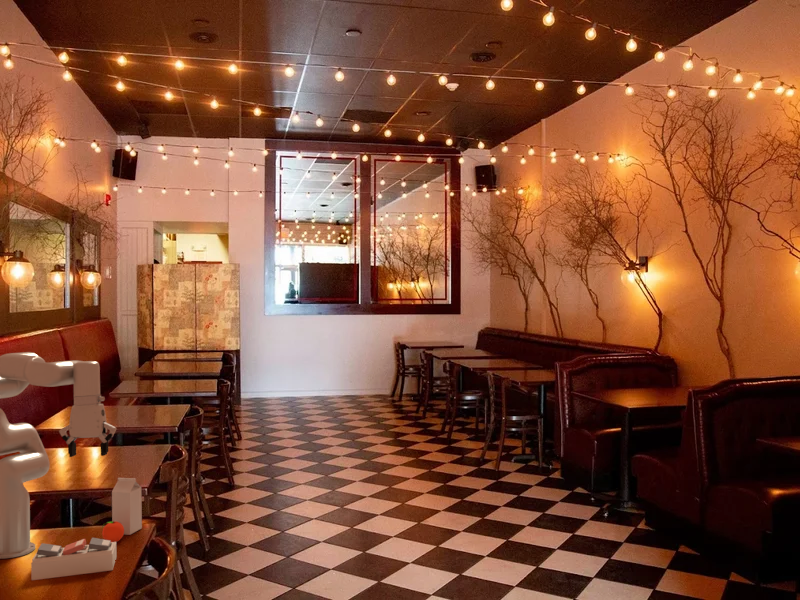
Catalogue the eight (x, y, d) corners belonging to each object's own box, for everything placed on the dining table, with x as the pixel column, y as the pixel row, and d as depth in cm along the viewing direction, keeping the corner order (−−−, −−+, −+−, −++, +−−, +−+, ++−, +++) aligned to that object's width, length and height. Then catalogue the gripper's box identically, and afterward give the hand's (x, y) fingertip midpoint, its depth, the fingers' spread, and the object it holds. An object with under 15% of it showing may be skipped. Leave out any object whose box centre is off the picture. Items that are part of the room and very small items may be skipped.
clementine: (94, 544, 223) (94, 523, 223) (108, 537, 230) (108, 517, 230) (115, 546, 221) (115, 525, 221) (128, 539, 228) (128, 518, 228)
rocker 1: (36, 554, 195) (37, 549, 196) (40, 547, 201) (41, 542, 201) (56, 557, 197) (58, 552, 197) (60, 550, 202) (61, 545, 202)
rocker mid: (64, 556, 198) (62, 551, 198) (67, 549, 203) (65, 545, 203) (83, 548, 199) (82, 544, 199) (86, 542, 205) (85, 538, 204)
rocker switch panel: (31, 580, 194) (31, 559, 194) (39, 566, 204) (39, 547, 204) (112, 570, 200) (112, 550, 201) (116, 557, 211) (116, 538, 211)
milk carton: (130, 535, 232) (129, 481, 232) (112, 534, 233) (111, 480, 234) (142, 528, 239) (141, 476, 239) (124, 527, 240) (123, 475, 240)
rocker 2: (88, 548, 200) (89, 543, 200) (90, 542, 205) (92, 537, 205) (107, 551, 201) (108, 546, 201) (109, 544, 207) (111, 540, 207)
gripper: (119, 398, 211) (121, 452, 210) (65, 400, 210) (66, 454, 210) (110, 401, 203) (111, 457, 203) (53, 403, 203) (54, 459, 202)
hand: (88, 455), depth 206 cm, fingers open, 9 cm apart
